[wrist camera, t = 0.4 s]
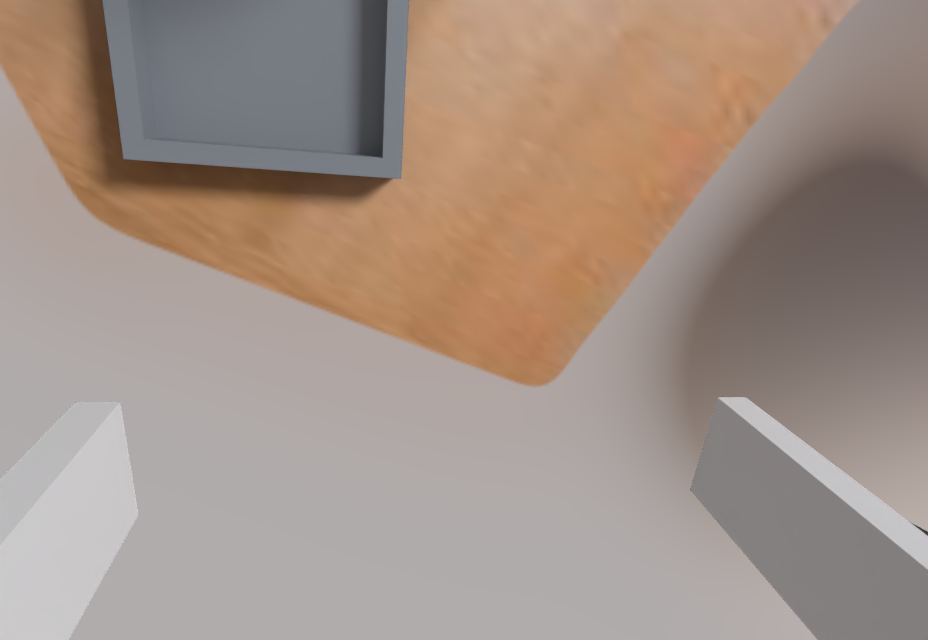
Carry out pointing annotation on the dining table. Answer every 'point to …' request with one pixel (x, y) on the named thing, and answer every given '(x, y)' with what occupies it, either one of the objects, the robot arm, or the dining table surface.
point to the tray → (261, 83)
